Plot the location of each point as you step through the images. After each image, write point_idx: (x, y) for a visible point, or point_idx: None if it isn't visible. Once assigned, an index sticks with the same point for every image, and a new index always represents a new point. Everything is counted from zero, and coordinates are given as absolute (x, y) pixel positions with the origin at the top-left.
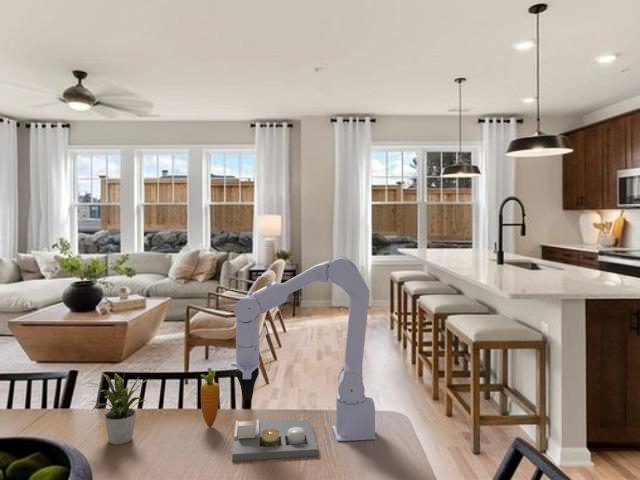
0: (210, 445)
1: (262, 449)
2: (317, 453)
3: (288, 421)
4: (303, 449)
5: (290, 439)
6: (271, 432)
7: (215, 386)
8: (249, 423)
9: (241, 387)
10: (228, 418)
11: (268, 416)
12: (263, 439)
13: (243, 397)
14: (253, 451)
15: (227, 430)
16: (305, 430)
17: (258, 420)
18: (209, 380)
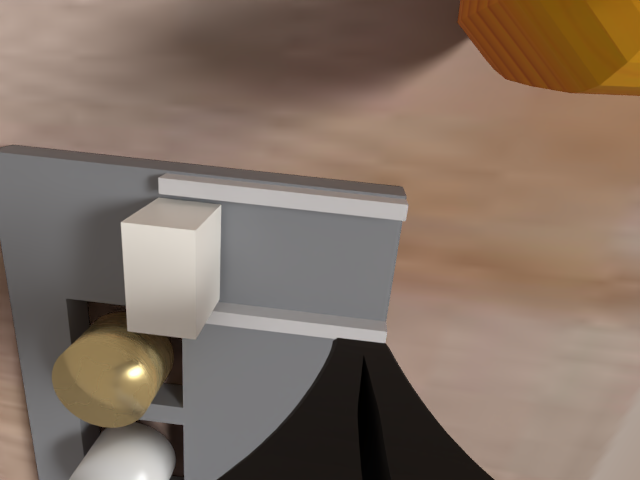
0: (206, 17)
1: (41, 307)
2: None
3: None
4: (40, 466)
5: (94, 446)
6: (98, 391)
7: (590, 25)
8: (155, 299)
9: (291, 412)
10: (600, 151)
11: (531, 383)
12: (85, 333)
13: (332, 350)
14: (18, 263)
15: (403, 135)
16: None
17: (368, 340)
18: None
